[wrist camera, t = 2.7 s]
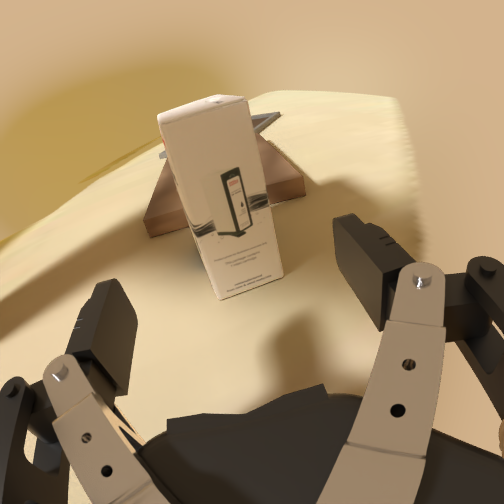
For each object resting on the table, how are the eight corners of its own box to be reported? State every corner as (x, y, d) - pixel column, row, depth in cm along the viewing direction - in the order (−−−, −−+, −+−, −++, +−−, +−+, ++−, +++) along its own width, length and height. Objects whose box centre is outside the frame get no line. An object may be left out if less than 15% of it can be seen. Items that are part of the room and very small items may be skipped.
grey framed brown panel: (157, 154, 62) (217, 120, 85) (160, 161, 63) (218, 125, 86) (242, 139, 55) (282, 109, 77) (244, 147, 55) (283, 115, 78)
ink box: (196, 245, 28) (153, 113, 21) (249, 226, 28) (216, 94, 22) (217, 304, 20) (154, 121, 14) (288, 277, 21) (249, 94, 15)
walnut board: (150, 237, 31) (143, 219, 30) (170, 167, 53) (167, 157, 52) (305, 195, 31) (302, 176, 30) (260, 143, 53) (257, 132, 52)
